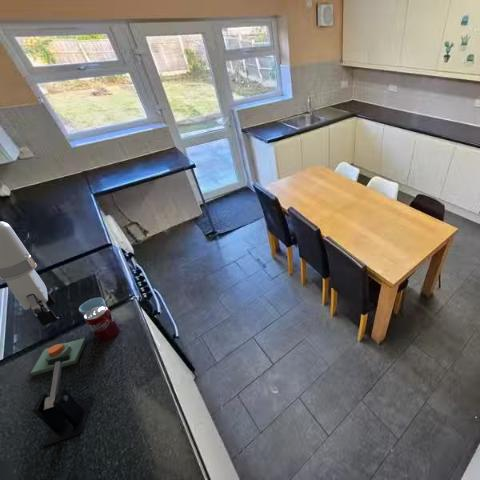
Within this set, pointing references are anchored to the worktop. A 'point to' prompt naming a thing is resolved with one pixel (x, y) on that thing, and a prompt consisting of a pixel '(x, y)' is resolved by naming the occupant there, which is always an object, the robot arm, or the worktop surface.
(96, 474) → the worktop surface
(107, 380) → the worktop surface
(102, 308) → the soda can
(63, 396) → the toaster bracket
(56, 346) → the button
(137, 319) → the worktop surface
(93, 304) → the cup
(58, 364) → the toaster lever
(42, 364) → the button block
